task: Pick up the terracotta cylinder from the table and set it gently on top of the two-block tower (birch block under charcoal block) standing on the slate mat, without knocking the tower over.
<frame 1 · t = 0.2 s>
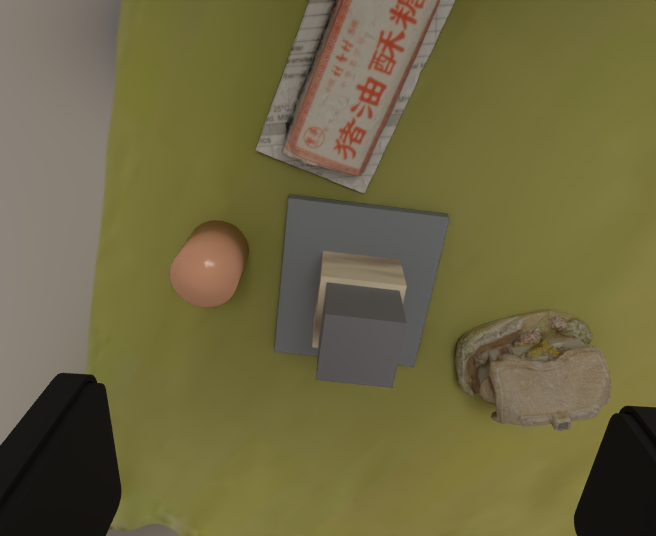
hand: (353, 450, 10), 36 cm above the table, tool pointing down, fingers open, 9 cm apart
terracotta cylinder: (218, 248, 48), on the table
charcoal block: (357, 317, 44), point 6 cm above the table, touching birch block
packaged product: (353, 66, 41), on the table
ceramic model: (523, 355, 53), on the table
birch block: (356, 289, 48), point 1 cm above the table, touching charcoal block, slate mat
slate mat: (355, 284, 49), on the table
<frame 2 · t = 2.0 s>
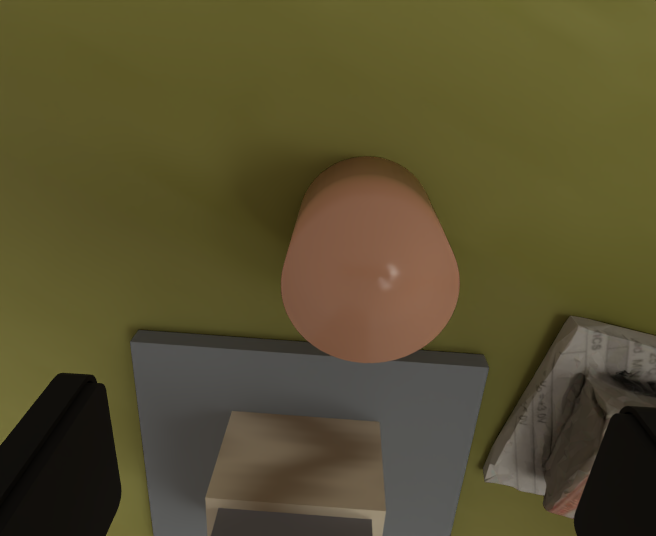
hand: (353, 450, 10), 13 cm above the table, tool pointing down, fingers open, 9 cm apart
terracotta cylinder: (365, 222, 22), on the table
birch block: (302, 470, 26), point 1 cm above the table, touching charcoal block, slate mat
slate mat: (304, 456, 27), on the table
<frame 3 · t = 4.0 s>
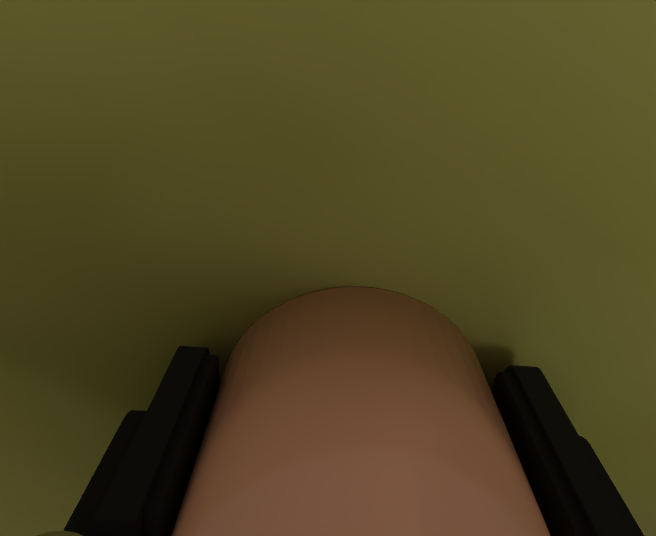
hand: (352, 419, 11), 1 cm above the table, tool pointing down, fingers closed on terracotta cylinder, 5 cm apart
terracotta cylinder: (352, 402, 11), on the table, touching gripper
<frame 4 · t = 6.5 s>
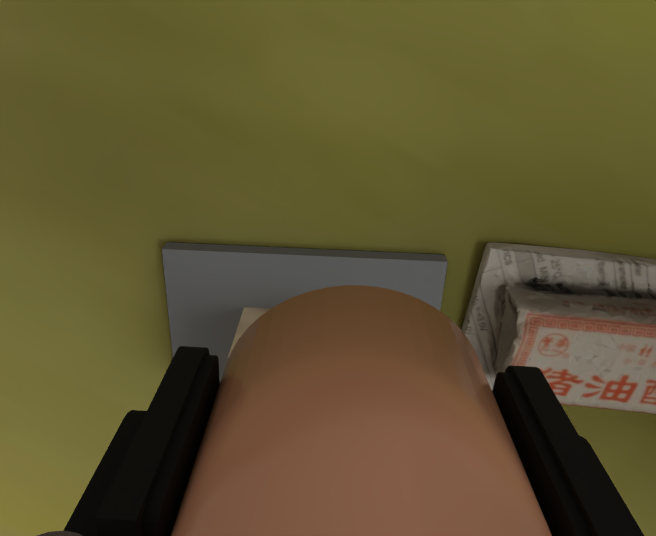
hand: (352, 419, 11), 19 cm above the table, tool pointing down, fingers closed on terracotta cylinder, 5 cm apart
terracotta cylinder: (352, 400, 11), point 19 cm above the table, touching gripper
packaged product: (602, 323, 33), on the table
birch block: (302, 358, 32), point 1 cm above the table, touching charcoal block, slate mat
slate mat: (303, 349, 33), on the table
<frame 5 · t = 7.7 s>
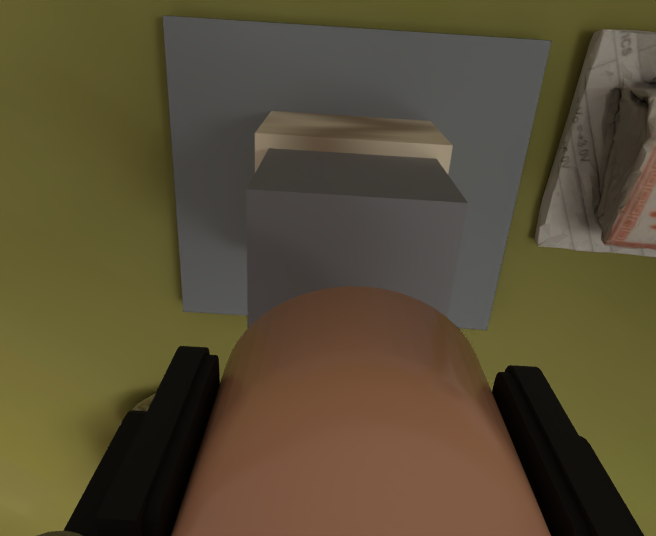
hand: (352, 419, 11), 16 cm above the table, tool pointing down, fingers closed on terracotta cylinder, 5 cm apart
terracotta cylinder: (352, 401, 11), point 16 cm above the table, touching gripper
charcoal block: (346, 231, 20), point 6 cm above the table, touching birch block
birch block: (345, 192, 24), point 1 cm above the table, touching charcoal block, slate mat
slate mat: (345, 186, 25), on the table
when the fingers open (13 cm above the table, at t = 8.8 s): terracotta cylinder drops 1 cm, resting on charcoal block.
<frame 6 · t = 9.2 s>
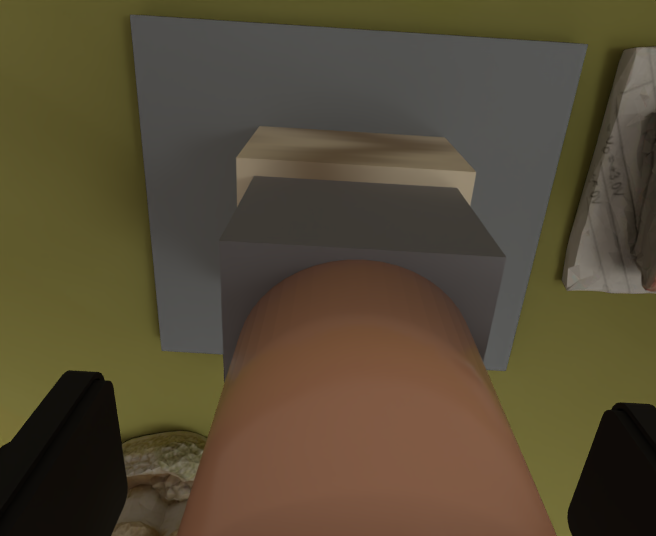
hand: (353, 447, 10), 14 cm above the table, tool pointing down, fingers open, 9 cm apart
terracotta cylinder: (354, 366, 12), point 11 cm above the table, touching charcoal block
charcoal block: (348, 273, 17), point 6 cm above the table, touching birch block, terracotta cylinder
ceramic model: (189, 517, 31), on the table
birch block: (345, 218, 21), point 1 cm above the table, touching charcoal block, slate mat
slate mat: (344, 210, 22), on the table
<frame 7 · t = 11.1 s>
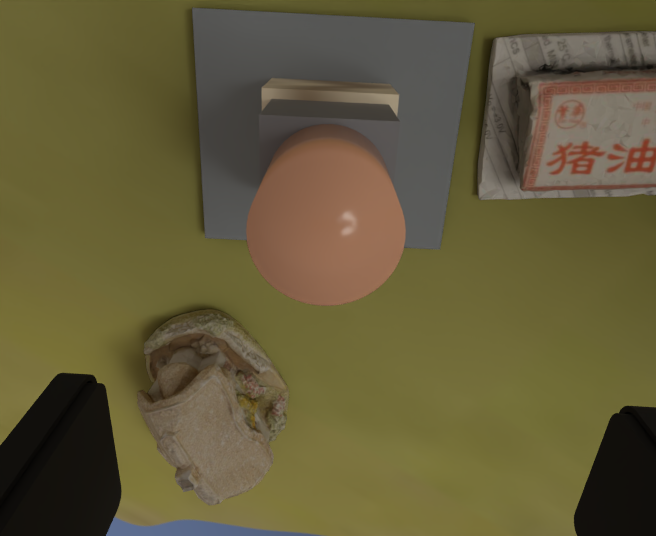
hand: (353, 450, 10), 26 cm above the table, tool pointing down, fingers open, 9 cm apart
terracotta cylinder: (327, 186, 23), point 11 cm above the table, touching charcoal block
charcoal block: (327, 159, 28), point 6 cm above the table, touching birch block, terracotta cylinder
packaged product: (620, 115, 33), on the table
ceramic model: (216, 382, 42), on the table
birch block: (328, 140, 32), point 1 cm above the table, touching charcoal block, slate mat
slate mat: (328, 136, 33), on the table
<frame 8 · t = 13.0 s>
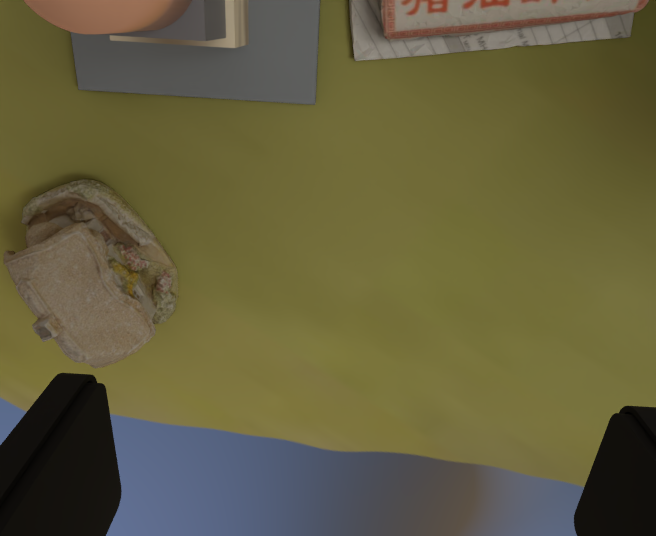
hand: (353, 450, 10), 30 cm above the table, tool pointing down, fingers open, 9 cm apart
ceramic model: (105, 263, 42), on the table
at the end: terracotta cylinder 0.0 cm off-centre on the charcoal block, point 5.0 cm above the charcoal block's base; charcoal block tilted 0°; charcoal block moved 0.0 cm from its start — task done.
